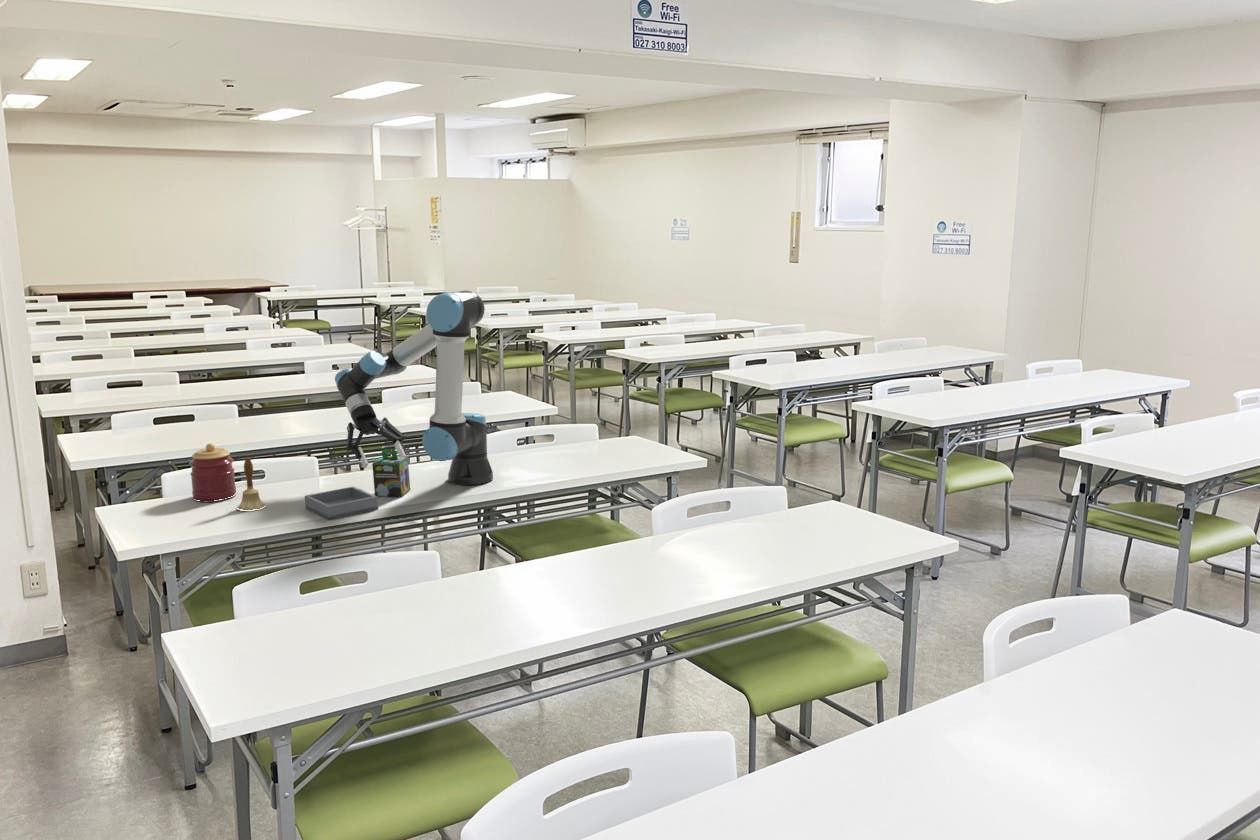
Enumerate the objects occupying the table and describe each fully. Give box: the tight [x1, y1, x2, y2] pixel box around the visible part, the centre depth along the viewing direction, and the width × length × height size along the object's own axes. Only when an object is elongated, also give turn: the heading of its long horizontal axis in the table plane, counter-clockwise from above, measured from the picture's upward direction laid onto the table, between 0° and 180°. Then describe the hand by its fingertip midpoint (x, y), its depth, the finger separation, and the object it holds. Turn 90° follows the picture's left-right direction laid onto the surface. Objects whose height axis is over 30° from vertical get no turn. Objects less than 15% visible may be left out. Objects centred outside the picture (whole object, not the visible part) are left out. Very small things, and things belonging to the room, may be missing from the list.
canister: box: [188, 443, 237, 501], centre depth 309 cm, size 13×13×18 cm
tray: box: [304, 486, 379, 521], centre depth 297 cm, size 16×16×4 cm
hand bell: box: [237, 457, 266, 510], centre depth 297 cm, size 8×8×16 cm
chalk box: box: [371, 449, 411, 498], centre depth 313 cm, size 9×9×15 cm
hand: (385, 462), depth 314 cm, fingers open, 13 cm apart
